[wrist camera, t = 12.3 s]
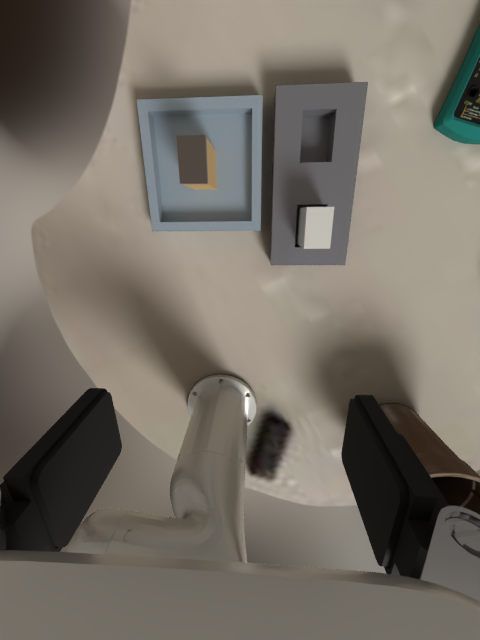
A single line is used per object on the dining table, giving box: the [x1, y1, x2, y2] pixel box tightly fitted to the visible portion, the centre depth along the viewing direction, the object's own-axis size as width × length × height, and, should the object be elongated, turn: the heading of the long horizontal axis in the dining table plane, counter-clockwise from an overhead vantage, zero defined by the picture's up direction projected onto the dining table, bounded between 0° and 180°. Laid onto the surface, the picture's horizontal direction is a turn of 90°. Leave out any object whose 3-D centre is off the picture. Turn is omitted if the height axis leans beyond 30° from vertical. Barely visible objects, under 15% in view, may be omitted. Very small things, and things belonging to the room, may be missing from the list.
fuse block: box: [270, 82, 368, 265], centre depth 36 cm, size 20×10×4 cm, turn 1°
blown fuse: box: [176, 135, 217, 190], centre depth 33 cm, size 4×3×8 cm, turn 0°
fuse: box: [295, 207, 334, 249], centre depth 35 cm, size 4×3×8 cm, turn 1°
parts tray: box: [137, 95, 263, 231], centre depth 36 cm, size 15×15×2 cm
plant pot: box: [379, 404, 480, 515], centre depth 44 cm, size 16×16×16 cm
